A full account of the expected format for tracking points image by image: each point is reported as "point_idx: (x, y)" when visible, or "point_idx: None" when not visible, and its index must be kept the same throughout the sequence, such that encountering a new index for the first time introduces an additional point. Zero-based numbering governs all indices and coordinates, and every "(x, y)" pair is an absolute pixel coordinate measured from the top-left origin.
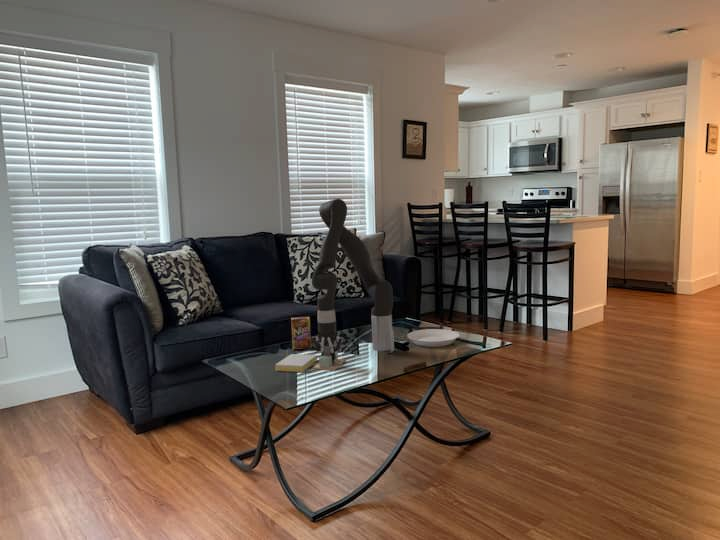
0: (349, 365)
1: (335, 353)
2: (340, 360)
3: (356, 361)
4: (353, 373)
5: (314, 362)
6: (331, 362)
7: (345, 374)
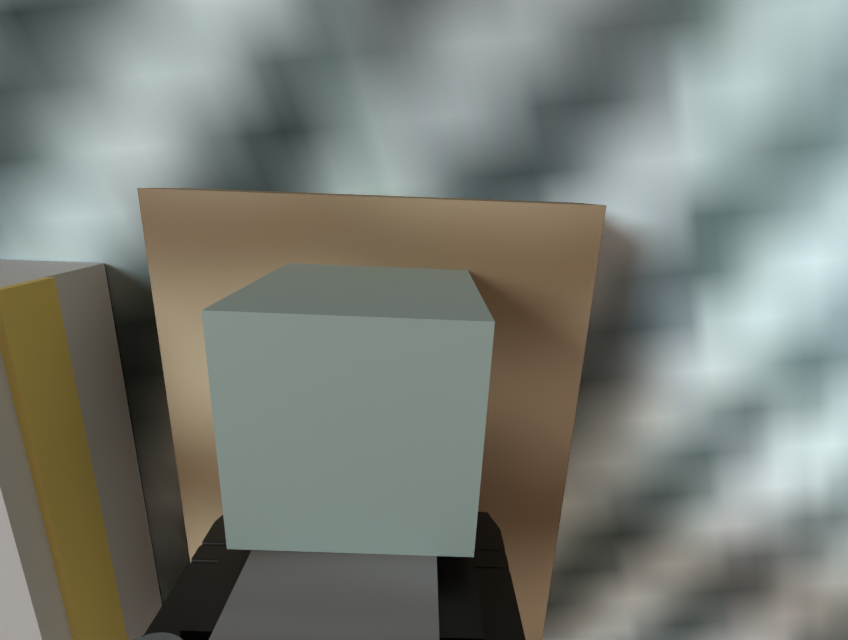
0: (654, 285)
1: (477, 474)
2: (519, 276)
3: (756, 25)
4: (745, 595)
5: (81, 391)
6: None
7: (652, 631)
